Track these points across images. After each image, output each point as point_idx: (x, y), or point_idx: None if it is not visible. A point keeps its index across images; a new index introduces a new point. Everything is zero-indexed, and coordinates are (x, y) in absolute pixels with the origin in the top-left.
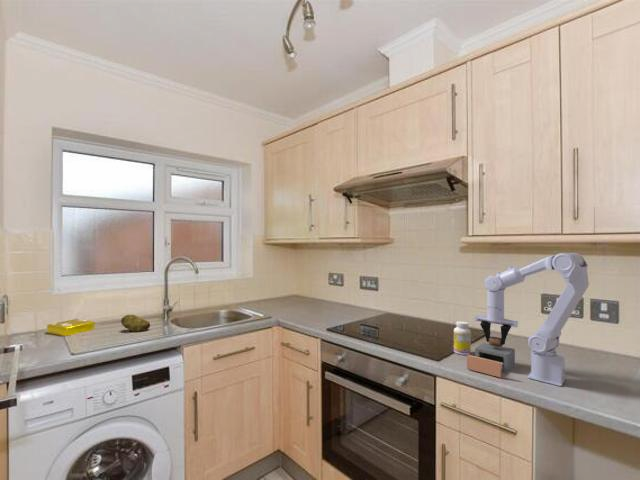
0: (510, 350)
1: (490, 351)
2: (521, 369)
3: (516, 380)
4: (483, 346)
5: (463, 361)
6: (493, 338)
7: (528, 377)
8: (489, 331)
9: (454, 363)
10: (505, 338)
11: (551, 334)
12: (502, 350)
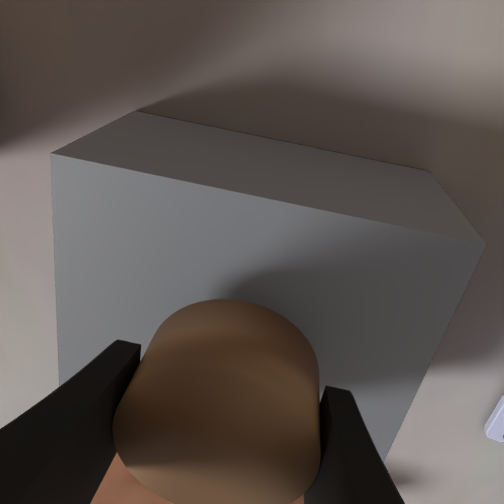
0: (415, 340)
1: None
2: None
3: (402, 476)
4: (104, 336)
5: (37, 313)
6: (187, 468)
7: (489, 438)
8: (58, 475)
9: (12, 378)
10: (372, 466)
11: None
12: (320, 382)
